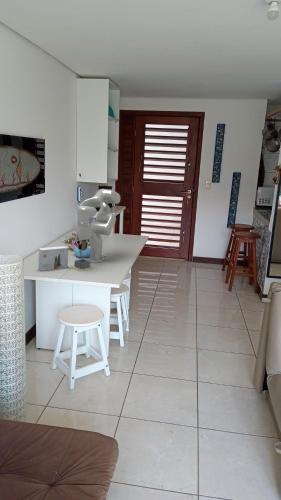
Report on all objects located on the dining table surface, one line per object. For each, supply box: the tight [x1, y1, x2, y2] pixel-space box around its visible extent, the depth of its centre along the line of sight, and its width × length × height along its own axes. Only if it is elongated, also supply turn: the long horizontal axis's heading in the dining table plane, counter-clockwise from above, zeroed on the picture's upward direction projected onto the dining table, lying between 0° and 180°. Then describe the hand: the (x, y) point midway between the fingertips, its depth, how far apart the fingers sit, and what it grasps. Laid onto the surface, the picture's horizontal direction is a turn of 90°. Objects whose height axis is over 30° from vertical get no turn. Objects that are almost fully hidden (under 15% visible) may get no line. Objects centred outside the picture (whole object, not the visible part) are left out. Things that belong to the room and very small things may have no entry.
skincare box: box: [37, 245, 69, 272], centre depth 275 cm, size 21×5×16 cm, turn 126°
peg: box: [81, 240, 86, 251], centre depth 279 cm, size 4×4×7 cm
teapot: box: [71, 243, 90, 259], centre depth 314 cm, size 15×15×10 cm
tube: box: [72, 258, 93, 272], centre depth 283 cm, size 11×11×5 cm
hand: (82, 248), depth 280 cm, fingers closed on peg, 4 cm apart
